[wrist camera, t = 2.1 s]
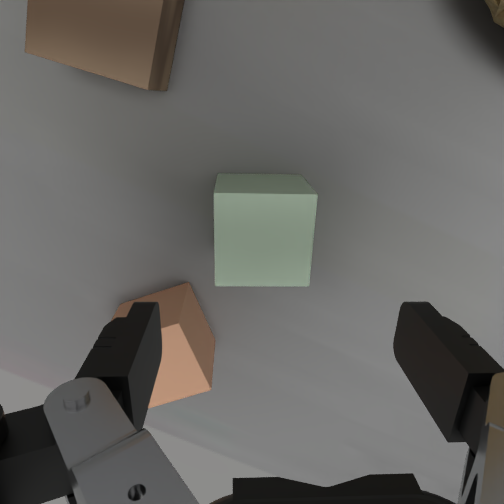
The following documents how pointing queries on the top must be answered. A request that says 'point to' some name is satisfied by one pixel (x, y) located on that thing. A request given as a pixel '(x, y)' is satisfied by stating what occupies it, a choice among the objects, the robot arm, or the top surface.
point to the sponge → (497, 11)
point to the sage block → (263, 229)
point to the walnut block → (108, 37)
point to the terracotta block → (180, 345)
